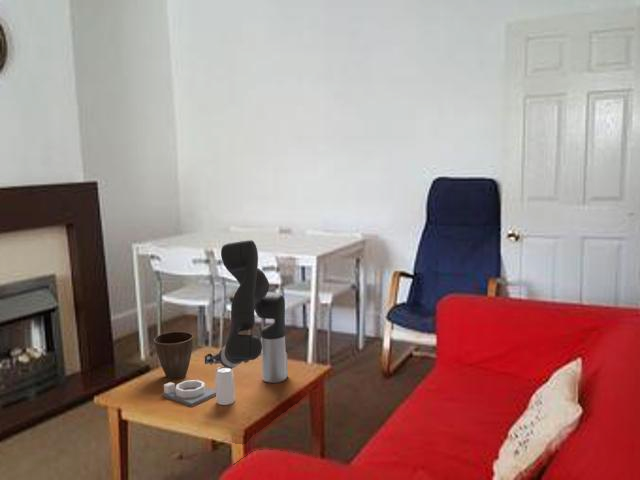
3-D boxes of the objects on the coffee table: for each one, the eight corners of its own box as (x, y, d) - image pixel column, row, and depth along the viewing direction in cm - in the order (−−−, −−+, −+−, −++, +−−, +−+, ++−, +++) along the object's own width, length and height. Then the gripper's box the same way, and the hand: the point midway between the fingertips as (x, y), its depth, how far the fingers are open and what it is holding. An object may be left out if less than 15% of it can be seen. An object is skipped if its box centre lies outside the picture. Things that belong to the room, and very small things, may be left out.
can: (234, 405, 215) (232, 372, 213) (215, 406, 215) (213, 373, 213) (235, 397, 221) (233, 365, 219) (217, 398, 221) (215, 366, 219)
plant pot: (186, 384, 234) (183, 344, 232) (149, 382, 237) (147, 342, 235) (201, 370, 249) (199, 332, 246) (166, 368, 252) (164, 331, 249)
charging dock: (189, 384, 235) (189, 374, 234) (219, 394, 225) (218, 383, 224) (162, 396, 224) (161, 385, 224) (191, 406, 215) (191, 395, 214)
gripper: (254, 342, 199) (243, 349, 214) (210, 343, 194) (202, 350, 209) (255, 365, 197) (244, 371, 211) (210, 367, 192) (202, 373, 207)
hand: (223, 361), depth 210 cm, fingers open, 8 cm apart
